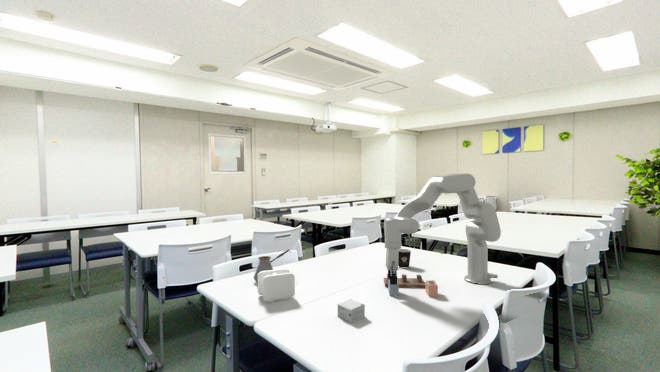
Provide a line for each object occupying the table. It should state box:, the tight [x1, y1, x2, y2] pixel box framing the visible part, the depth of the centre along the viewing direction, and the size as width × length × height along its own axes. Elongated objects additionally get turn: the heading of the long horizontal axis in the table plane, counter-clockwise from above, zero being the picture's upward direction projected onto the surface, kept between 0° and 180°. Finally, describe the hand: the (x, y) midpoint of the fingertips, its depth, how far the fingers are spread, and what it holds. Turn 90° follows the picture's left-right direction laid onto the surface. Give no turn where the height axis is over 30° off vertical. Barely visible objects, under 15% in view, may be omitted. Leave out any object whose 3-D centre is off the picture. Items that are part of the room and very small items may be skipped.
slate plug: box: [387, 280, 400, 297], centre depth 145 cm, size 4×6×6 cm, turn 175°
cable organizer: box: [257, 267, 296, 303], centre depth 142 cm, size 15×11×12 cm
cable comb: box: [383, 273, 426, 289], centre depth 158 cm, size 20×10×4 cm, turn 85°
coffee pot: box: [253, 249, 292, 282], centre depth 166 cm, size 21×12×15 cm, turn 128°
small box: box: [337, 298, 366, 324], centre depth 121 cm, size 8×8×5 cm
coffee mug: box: [398, 248, 412, 268], centre depth 191 cm, size 12×9×10 cm
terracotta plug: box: [425, 279, 439, 298], centre depth 144 cm, size 4×6×6 cm, turn 175°
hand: (392, 281), depth 145 cm, fingers open, 9 cm apart
